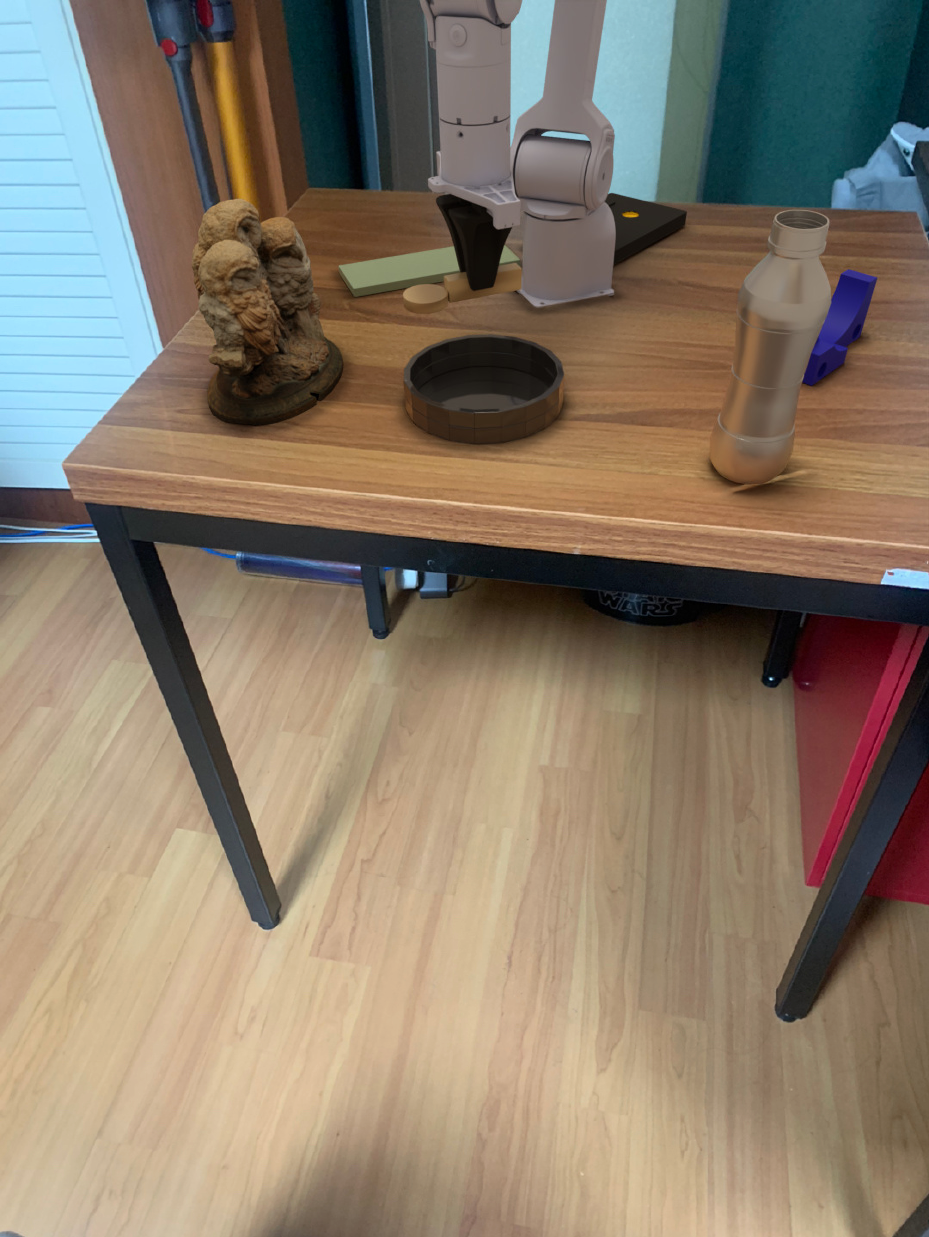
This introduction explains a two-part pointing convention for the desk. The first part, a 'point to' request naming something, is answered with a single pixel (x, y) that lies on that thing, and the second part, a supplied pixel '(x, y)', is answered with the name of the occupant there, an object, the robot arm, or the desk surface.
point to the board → (406, 270)
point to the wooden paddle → (458, 290)
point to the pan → (483, 388)
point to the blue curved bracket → (840, 324)
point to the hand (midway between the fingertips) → (478, 283)
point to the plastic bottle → (772, 350)
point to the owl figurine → (260, 317)
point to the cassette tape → (640, 223)
